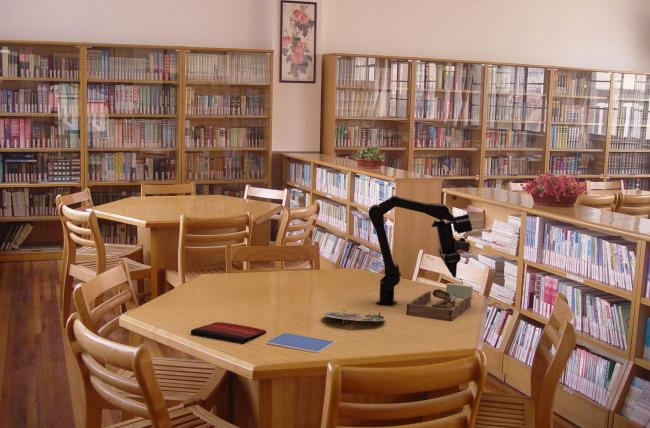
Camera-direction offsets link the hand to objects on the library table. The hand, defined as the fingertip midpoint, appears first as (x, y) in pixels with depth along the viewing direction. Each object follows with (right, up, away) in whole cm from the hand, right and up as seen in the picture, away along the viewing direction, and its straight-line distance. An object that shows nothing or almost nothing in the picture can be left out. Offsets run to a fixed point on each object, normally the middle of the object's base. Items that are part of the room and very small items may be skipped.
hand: (453, 274), depth 305 cm
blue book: (-58, -19, -52) cm, 80 cm away
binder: (-82, -17, -42) cm, 94 cm away
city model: (-39, -15, -23) cm, 48 cm away
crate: (-6, -13, -6) cm, 16 cm away
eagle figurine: (-4, -13, +1) cm, 13 cm away
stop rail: (+5, -10, +16) cm, 20 cm away
